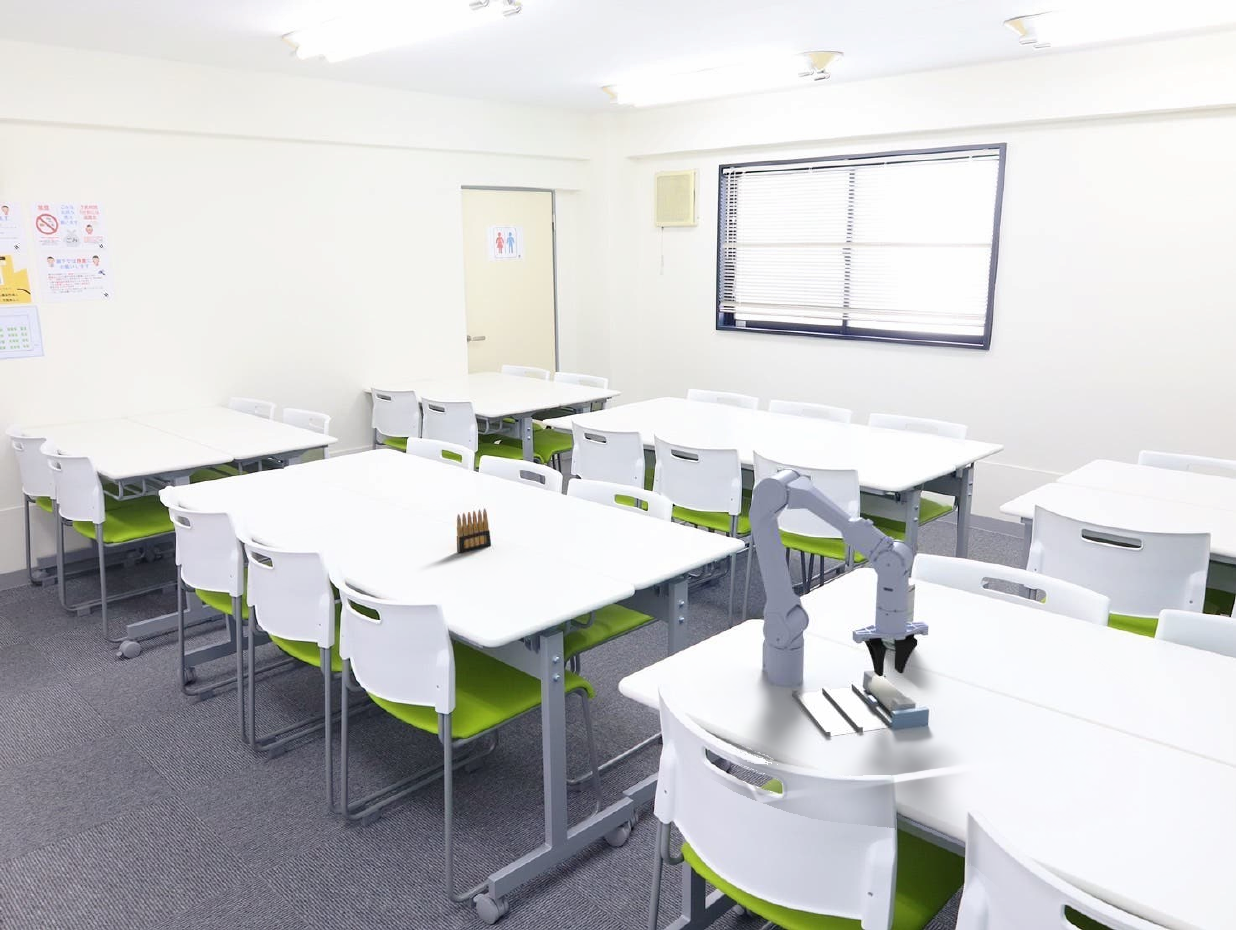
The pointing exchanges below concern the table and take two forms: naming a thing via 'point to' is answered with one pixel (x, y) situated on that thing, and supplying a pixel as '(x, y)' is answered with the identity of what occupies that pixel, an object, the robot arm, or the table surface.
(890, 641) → the syrup box
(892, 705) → the white rounded long block
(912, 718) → the lane divider tray
